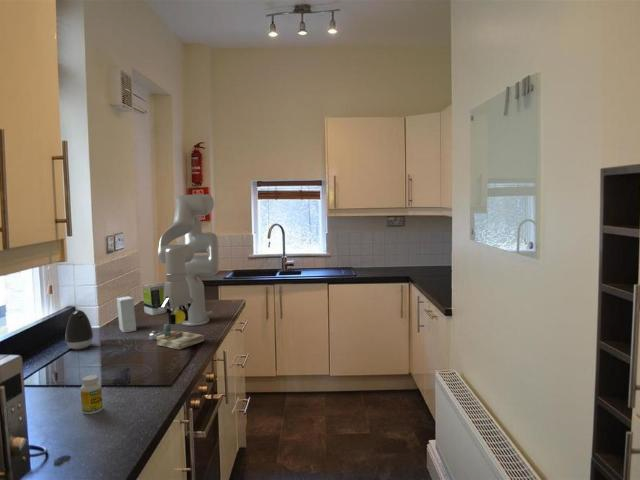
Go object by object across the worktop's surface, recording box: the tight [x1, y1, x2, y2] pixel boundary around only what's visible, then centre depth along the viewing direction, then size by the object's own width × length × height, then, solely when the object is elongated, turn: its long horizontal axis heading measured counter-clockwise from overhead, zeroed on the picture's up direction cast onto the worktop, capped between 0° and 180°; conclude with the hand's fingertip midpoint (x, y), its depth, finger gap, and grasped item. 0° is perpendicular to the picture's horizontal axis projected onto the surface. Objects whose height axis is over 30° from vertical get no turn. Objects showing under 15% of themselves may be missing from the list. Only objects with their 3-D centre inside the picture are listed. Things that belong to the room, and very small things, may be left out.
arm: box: [156, 323, 205, 350], centre depth 205 cm, size 19×13×7 cm
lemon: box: [174, 309, 185, 325], centre depth 202 cm, size 7×5×5 cm
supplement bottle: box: [79, 374, 104, 415], centre depth 141 cm, size 5×5×10 cm
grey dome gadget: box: [64, 309, 94, 350], centre depth 202 cm, size 10×10×15 cm
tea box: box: [142, 281, 180, 316], centre depth 262 cm, size 15×10×15 cm
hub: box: [148, 329, 162, 341], centre depth 212 cm, size 5×5×3 cm
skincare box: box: [116, 295, 137, 333], centre depth 227 cm, size 8×6×15 cm
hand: (178, 321), depth 203 cm, fingers closed on lemon, 5 cm apart
